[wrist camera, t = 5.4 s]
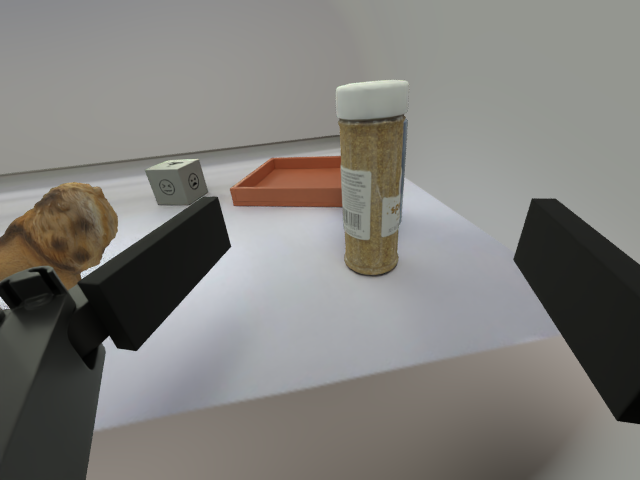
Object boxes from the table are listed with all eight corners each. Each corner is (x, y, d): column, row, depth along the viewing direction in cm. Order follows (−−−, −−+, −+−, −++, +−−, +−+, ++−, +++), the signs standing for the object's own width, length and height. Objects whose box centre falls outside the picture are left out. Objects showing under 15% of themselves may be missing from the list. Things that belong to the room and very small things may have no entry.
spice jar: (407, 271, 23) (424, 77, 16) (352, 282, 22) (346, 85, 16) (385, 243, 27) (391, 78, 20) (337, 252, 26) (327, 84, 20)
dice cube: (208, 191, 44) (198, 159, 42) (189, 204, 40) (177, 169, 37) (179, 192, 45) (168, 160, 43) (158, 204, 41) (144, 169, 39)
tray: (359, 170, 48) (359, 155, 47) (347, 206, 35) (347, 188, 34) (273, 171, 51) (271, 157, 50) (233, 205, 38) (229, 188, 37)
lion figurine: (143, 264, 27) (100, 170, 23) (149, 293, 23) (97, 186, 19) (-84, 339, 21) (-207, 228, 16) (-130, 398, 17) (-311, 272, 12)
